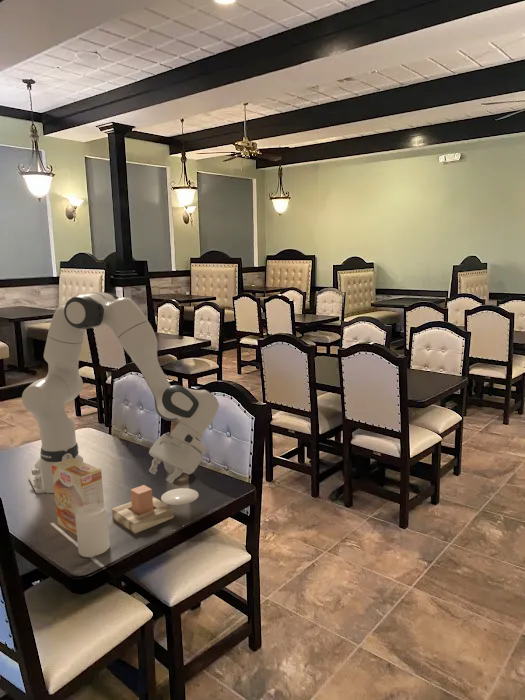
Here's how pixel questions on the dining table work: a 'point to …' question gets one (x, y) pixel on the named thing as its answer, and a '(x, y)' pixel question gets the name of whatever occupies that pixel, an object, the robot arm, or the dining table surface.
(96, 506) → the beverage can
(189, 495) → the cream oval shape
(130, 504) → the holder
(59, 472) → the coffeecake box
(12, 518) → the dining table surface
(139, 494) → the block
